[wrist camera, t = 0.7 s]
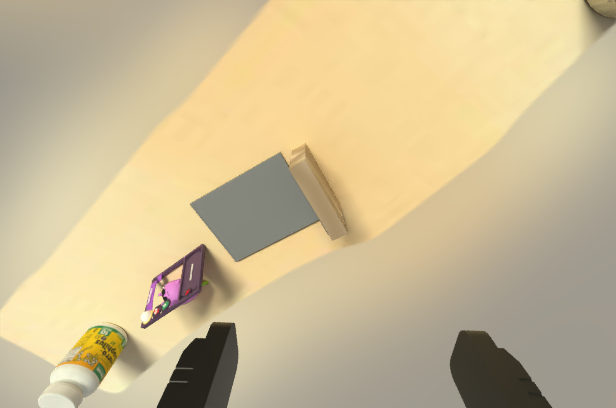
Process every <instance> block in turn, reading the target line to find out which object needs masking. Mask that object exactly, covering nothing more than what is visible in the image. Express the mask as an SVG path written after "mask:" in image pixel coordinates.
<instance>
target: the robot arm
mask: <svg viewBox="0 0 616 408" xmlns="http://www.w3.org/2000/svg"><path fill="white" fill-rule="evenodd" d="M587 1H588V3H589V5H590V6H591V7H592V8H593V9H594V10H595V11H596V12H597V13H599V14H601V15H603V16H605V17H610V18H616V0H587ZM237 364H238V345H237V337H236V328H235V323H223V322H222V323H221V322H213V323H212V324H211V326H210V328H209V331H208V333H207V336H206V338H195V339H194V340H193V341H192V342H191V343H190V344H189V345H188V347H187V348H186V349H185V350H184V351H183V353H182V355H181V357H180V359H179V361H178V363H177V365H176V369H175V370H174V372H173V374H172V376H171V378H170V381H169V383H168V384H167V387H166V389H165V391H164V393H163V395H162V397H161V399H160V401H159V403H158V405H157V408H227V405H228V401H229V397H230V393H231V389H232V385H233V382H234V378H235V374H236V370H237ZM450 369H451V374H452V377H453V380H454V382H455V384H456V386H457V388H458V390H459V393H460V395H461V397H462V399H463V401H464V404H465V406H466V408H552V407H551V405H550V404H549V403H548V401H547V400H546V398H545V397H544V396H542V395H541V391H540V390H539V389H538V387H537V386H536V384H535V383H534V382H532V380H531V377H530V376H529V375H528V373H527V372H526V370H525V369H524V368H523V366H522V365H521V364H520V362H519V361H517V360H516V359H515V358H514V357H513V356H512V355H511V354H509V353H508V352H507V351H506V350H505V349H504V348H497V346H496V345H495V343H494V342H493V340H492V339H491V337H490V336H489V335H488V334H487V333H486V332H485V331H460V333H459V335H458V338H457V341H456V344H455V347H454V350H453V353H452V356H451V359H450Z"/></svg>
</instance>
